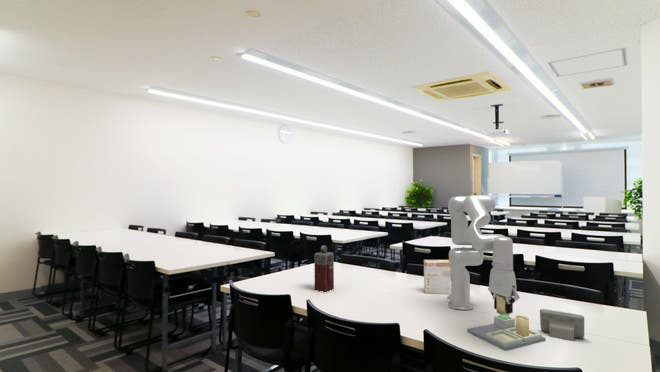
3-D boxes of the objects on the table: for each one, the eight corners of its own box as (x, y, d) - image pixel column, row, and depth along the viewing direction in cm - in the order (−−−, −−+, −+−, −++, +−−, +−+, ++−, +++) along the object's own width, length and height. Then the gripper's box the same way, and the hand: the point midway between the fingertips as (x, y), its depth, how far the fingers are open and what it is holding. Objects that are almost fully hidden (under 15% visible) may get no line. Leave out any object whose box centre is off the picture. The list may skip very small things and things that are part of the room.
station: (467, 331, 156) (467, 312, 156) (504, 323, 165) (504, 305, 165) (505, 350, 137) (505, 328, 137) (545, 340, 146) (545, 320, 146)
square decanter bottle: (329, 293, 214) (329, 247, 215) (314, 290, 221) (314, 245, 221) (337, 289, 222) (336, 245, 222) (322, 287, 228) (322, 244, 228)
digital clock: (586, 338, 148) (586, 313, 149) (581, 345, 142) (581, 318, 142) (543, 327, 160) (542, 304, 160) (537, 333, 154) (536, 309, 154)
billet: (493, 311, 147) (493, 294, 147) (502, 310, 148) (502, 293, 149) (503, 315, 142) (503, 297, 142) (512, 313, 144) (512, 296, 144)
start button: (497, 323, 159) (497, 314, 160) (503, 322, 161) (503, 312, 161) (504, 327, 156) (504, 317, 156) (511, 325, 157) (511, 315, 157)
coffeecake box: (448, 291, 218) (448, 259, 218) (451, 294, 211) (450, 261, 211) (423, 290, 220) (423, 259, 220) (425, 293, 212) (425, 261, 213)
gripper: (479, 263, 152) (480, 305, 152) (514, 272, 136) (514, 319, 136) (492, 262, 155) (493, 303, 155) (527, 270, 139) (528, 316, 139)
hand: (503, 310), depth 145 cm, fingers closed on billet, 5 cm apart
